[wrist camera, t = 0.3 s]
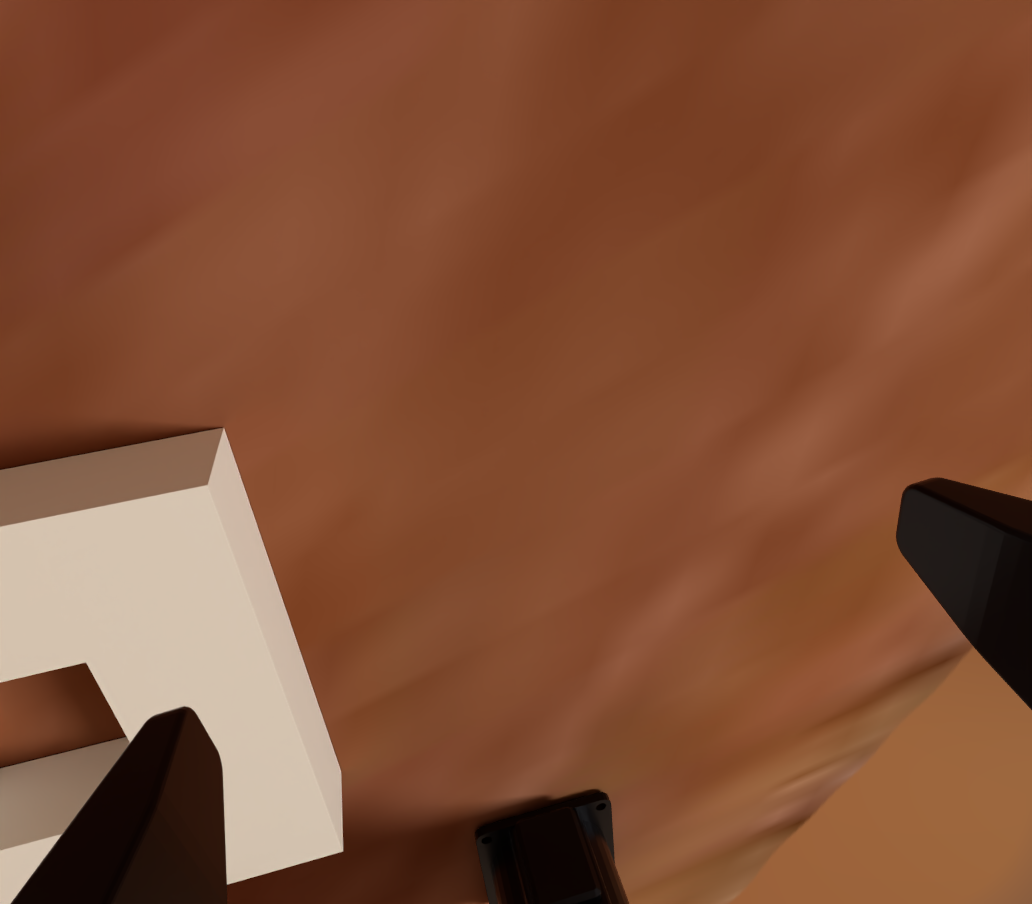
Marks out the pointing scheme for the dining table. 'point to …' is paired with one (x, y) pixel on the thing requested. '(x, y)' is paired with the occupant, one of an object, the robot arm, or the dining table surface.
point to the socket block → (160, 644)
